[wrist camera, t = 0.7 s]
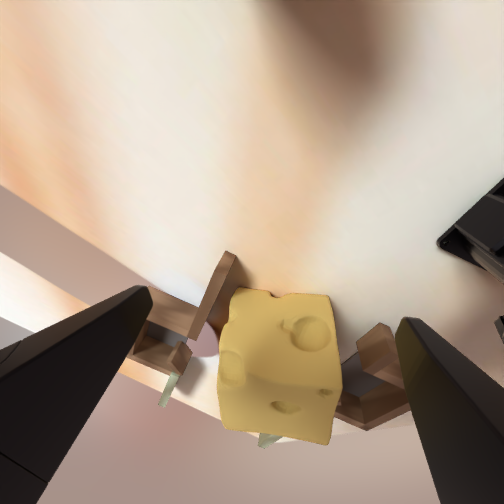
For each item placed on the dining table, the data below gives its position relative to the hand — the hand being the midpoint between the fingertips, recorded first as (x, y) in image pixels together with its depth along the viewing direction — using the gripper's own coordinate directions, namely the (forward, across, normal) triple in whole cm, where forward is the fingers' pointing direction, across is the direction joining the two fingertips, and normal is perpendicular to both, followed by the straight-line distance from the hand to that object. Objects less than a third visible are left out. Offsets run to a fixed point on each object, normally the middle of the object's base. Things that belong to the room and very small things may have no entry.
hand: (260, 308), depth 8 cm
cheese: (+14, 0, +15) cm, 20 cm away
